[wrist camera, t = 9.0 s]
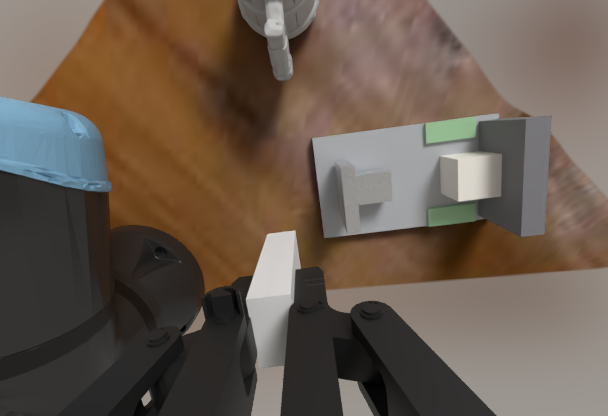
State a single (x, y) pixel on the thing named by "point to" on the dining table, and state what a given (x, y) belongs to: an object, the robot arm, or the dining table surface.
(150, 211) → the dining table surface
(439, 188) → the bench
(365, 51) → the dining table surface
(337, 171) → the plunger
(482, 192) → the block
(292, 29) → the mug
